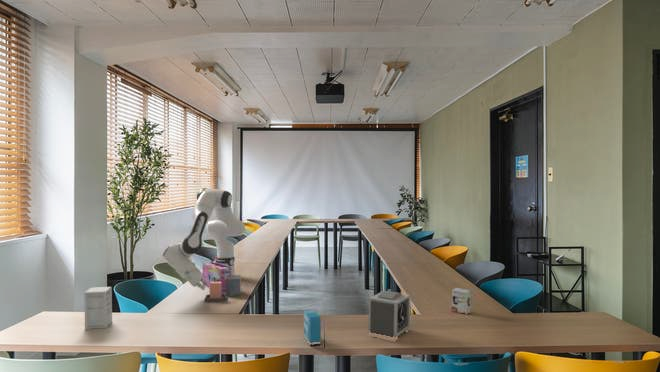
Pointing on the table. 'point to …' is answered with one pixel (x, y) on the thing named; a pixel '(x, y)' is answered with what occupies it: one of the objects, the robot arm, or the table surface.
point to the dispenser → (233, 285)
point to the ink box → (461, 300)
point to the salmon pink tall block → (215, 289)
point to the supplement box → (98, 307)
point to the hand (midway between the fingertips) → (205, 286)
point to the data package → (312, 326)
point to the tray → (208, 299)
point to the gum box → (215, 274)
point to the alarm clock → (389, 313)
